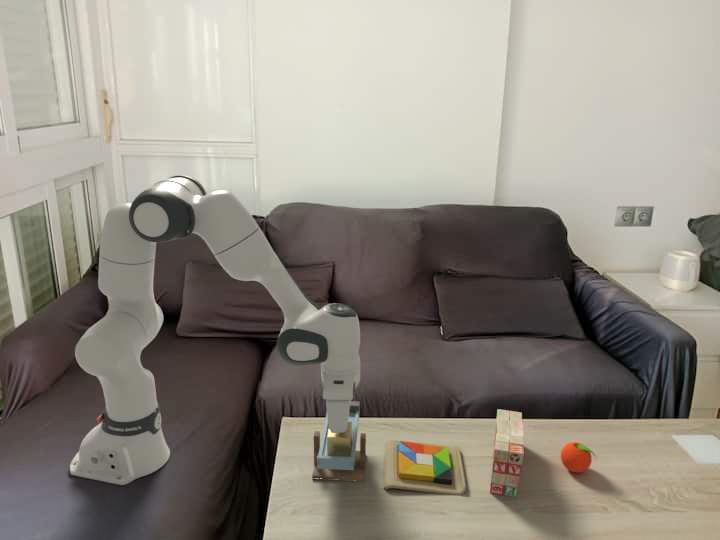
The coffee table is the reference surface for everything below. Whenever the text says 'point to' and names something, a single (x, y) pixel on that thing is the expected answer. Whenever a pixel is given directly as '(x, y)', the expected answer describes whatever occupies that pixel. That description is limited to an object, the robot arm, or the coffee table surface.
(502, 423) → the stack of blocks
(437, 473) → the wooden puzzle
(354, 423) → the beam
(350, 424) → the block
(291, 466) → the coffee table surface
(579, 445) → the clementine
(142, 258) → the robot arm
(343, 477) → the pivot stand
